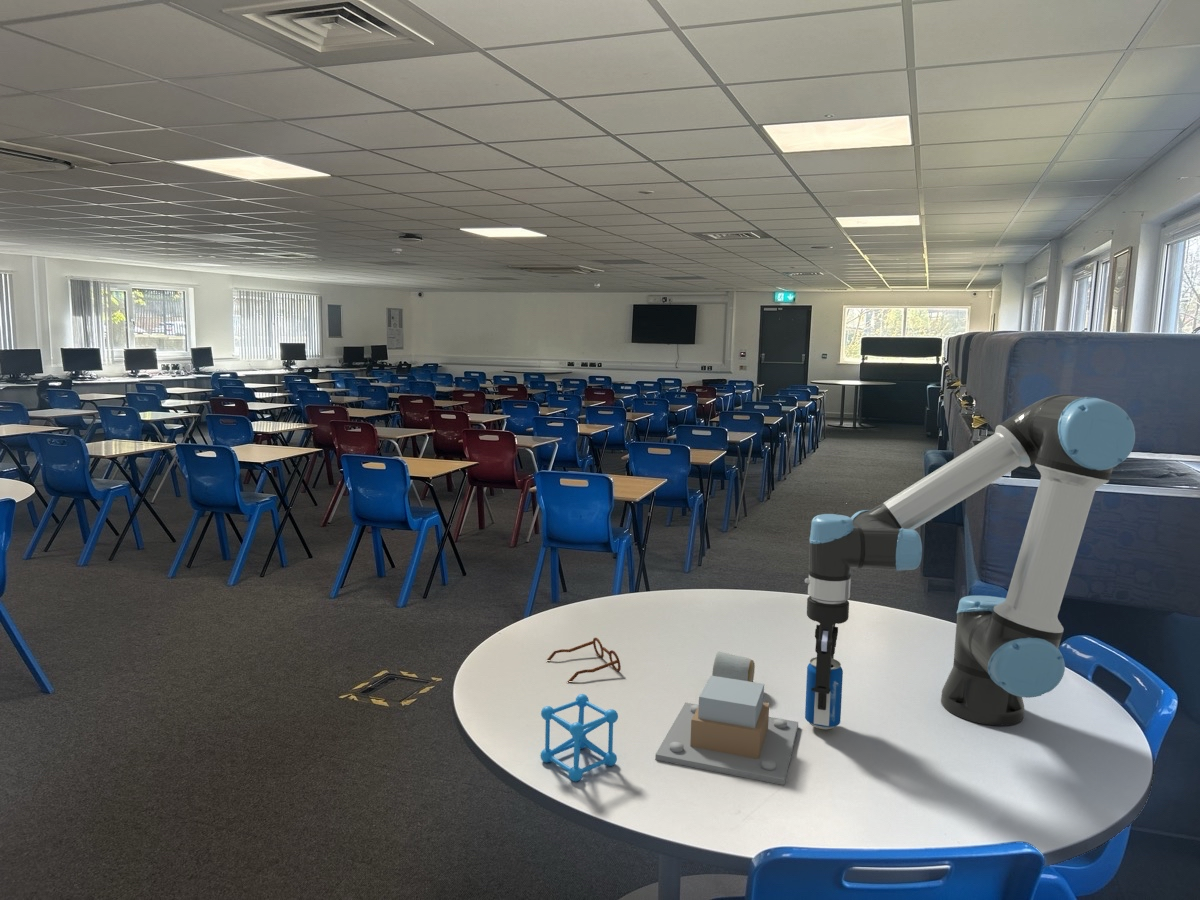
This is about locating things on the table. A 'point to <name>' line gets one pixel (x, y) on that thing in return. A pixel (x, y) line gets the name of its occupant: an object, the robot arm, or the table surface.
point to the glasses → (596, 653)
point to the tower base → (729, 761)
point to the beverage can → (834, 695)
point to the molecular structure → (578, 736)
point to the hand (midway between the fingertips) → (822, 715)
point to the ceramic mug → (733, 667)
